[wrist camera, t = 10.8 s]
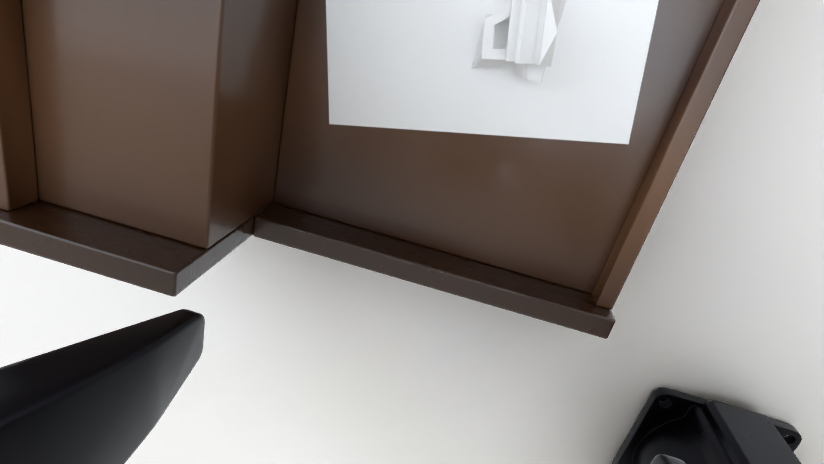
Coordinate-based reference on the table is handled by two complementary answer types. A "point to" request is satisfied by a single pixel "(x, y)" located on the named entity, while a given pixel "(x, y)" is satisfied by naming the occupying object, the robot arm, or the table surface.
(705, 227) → the table surface
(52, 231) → the wooden step tray
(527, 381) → the table surface
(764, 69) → the table surface
